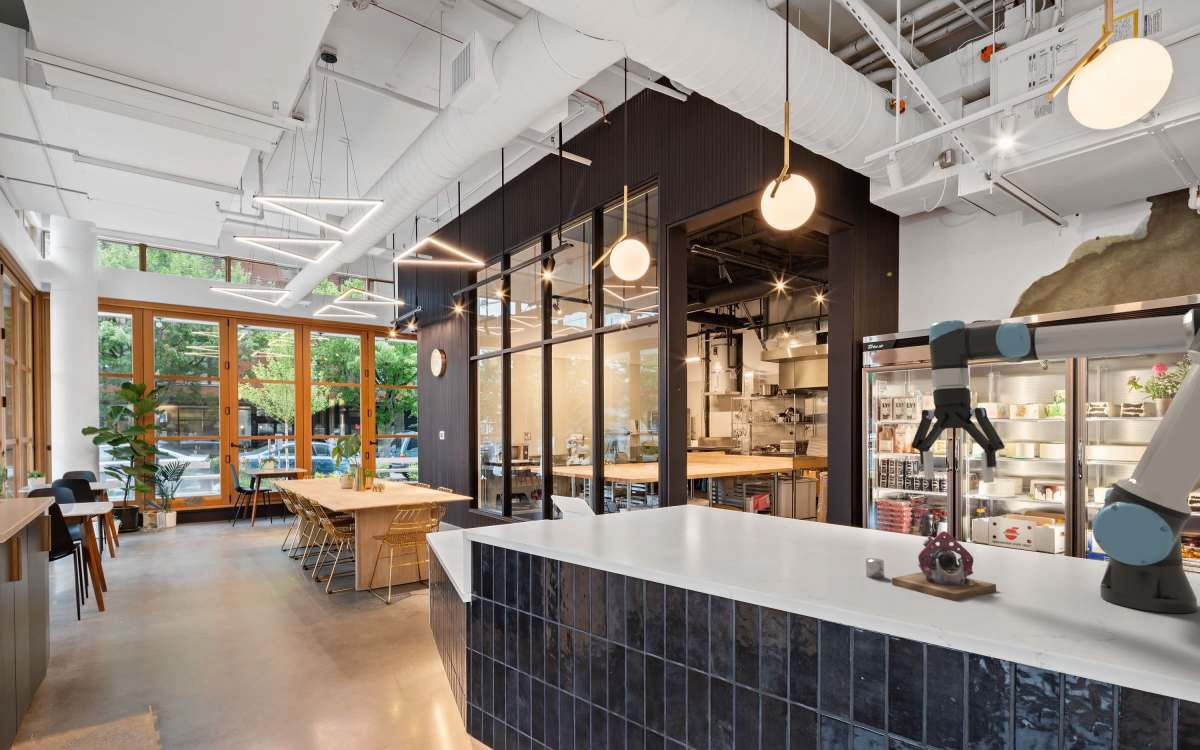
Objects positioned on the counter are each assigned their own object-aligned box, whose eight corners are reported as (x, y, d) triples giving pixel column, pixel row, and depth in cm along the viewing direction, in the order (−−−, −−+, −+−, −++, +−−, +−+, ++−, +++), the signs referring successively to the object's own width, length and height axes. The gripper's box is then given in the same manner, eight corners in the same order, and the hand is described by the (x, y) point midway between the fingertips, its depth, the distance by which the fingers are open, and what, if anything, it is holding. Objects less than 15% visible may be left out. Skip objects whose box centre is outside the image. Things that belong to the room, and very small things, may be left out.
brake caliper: (926, 576, 138) (916, 526, 145) (917, 596, 146) (908, 547, 154) (984, 578, 135) (971, 527, 143) (972, 599, 143) (959, 549, 151)
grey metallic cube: (887, 577, 152) (887, 560, 153) (876, 579, 150) (876, 562, 151) (873, 574, 156) (873, 557, 156) (862, 576, 154) (862, 559, 154)
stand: (996, 590, 140) (995, 584, 140) (954, 600, 133) (954, 593, 133) (932, 575, 153) (932, 569, 153) (892, 584, 146) (891, 577, 146)
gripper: (1017, 384, 138) (1025, 482, 136) (911, 391, 159) (917, 476, 157) (998, 383, 134) (1006, 485, 132) (892, 391, 155) (898, 478, 153)
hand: (957, 480), depth 145 cm, fingers open, 13 cm apart
